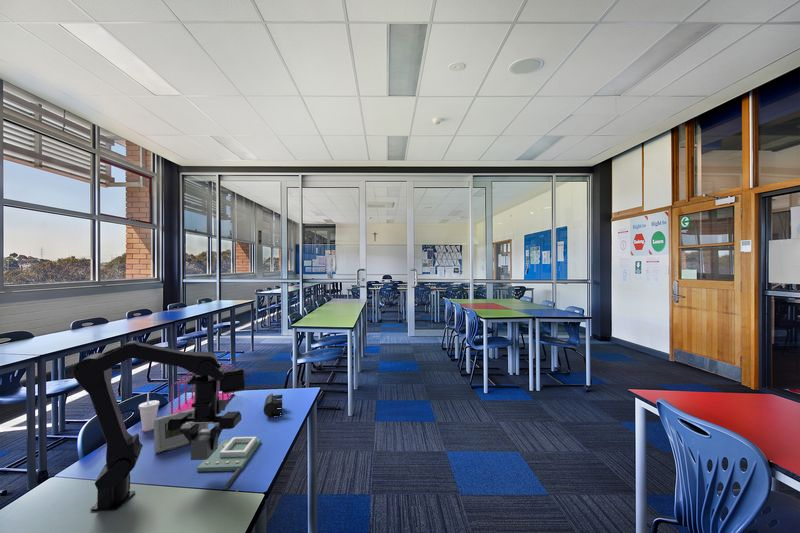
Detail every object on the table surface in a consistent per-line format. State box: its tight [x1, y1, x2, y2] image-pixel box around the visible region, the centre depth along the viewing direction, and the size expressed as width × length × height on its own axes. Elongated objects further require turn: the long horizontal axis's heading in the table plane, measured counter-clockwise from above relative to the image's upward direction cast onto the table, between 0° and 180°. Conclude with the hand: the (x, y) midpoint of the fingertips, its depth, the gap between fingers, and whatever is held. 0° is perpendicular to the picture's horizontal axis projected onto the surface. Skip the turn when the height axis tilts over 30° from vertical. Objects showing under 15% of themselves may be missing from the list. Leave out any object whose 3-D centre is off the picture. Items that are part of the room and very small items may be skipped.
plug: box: [190, 428, 219, 461], centre depth 94 cm, size 6×4×6 cm
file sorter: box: [170, 364, 235, 414], centre depth 144 cm, size 17×25×16 cm
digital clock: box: [153, 408, 210, 454], centre depth 113 cm, size 16×9×11 cm, turn 123°
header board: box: [196, 436, 262, 473], centre depth 105 cm, size 16×13×3 cm
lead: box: [223, 467, 242, 490], centre depth 94 cm, size 12×1×1 cm, turn 4°
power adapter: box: [263, 393, 283, 418], centre depth 137 cm, size 10×7×7 cm
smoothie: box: [138, 392, 160, 432], centre depth 122 cm, size 6×6×14 cm
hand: (204, 449), depth 94 cm, fingers closed on plug, 4 cm apart
